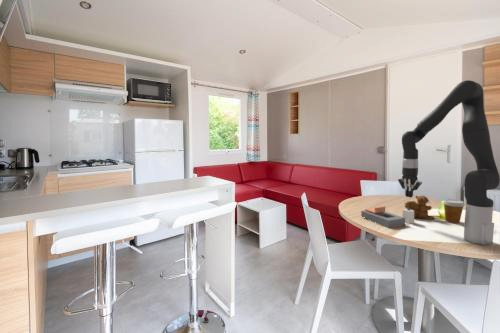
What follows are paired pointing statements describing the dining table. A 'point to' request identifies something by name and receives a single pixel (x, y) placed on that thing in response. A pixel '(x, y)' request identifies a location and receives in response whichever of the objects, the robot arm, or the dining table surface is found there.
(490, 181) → the robot arm
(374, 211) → the shutter
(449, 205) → the disposable coffee cup
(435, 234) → the dining table surface
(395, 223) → the socket block
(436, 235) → the dining table surface
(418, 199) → the stuffed squirrel
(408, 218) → the plug
